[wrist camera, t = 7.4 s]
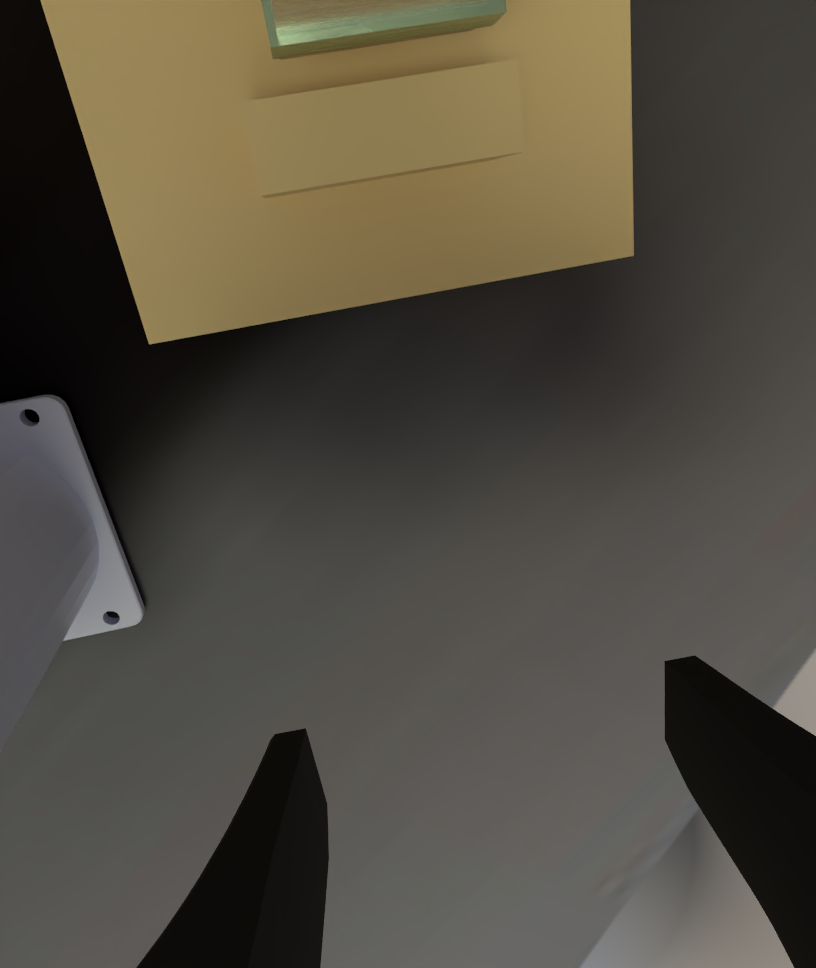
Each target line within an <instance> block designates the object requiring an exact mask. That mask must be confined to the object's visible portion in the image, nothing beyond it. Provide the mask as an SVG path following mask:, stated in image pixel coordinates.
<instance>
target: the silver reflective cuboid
mask: <svg viewBox="0 0 816 968" xmlns="http://www.w3.org/2000/svg"><path fill="white" fill-rule="evenodd" d="M261 4H262V9H263V13H264V18H265V23H266V28H267V33H268V38H269V43H270V48H271V53H272V58H273V59H278V58H280V60H283V59H290V58H296V57H303V56H309V55H316V54H323V53H329V52H336V51H342V50H349V49H356V48H362V47H369V46H375V45H382V44H388V43H395V42H402V41H408V40H415V39H421V38H428V37H434V36H441V35H448V34H454V33H461V32H467V31H472V30H473V29H476V28H482V27H489V26H492V25H494V24H495V23H496V22H497V21H498V20H499V19H500V18H501V17H502V16H503V15H504V14H505V13H506V12H507V9H506V0H261Z"/></svg>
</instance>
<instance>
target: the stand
mask: <svg viewBox="0 0 816 968" xmlns="http://www.w3.org/2000/svg"><path fill="white" fill-rule="evenodd" d="M41 4H42V7H43V10H44V13H45V16H46V19H47V23H48V26H49V29H50V32H51V35H52V38H53V42H54V45H55V48H56V51H57V54H58V57H59V61H60V64H61V67H62V70H63V73H64V76H65V80H66V83H67V86H68V89H69V92H70V95H71V99H72V102H73V105H74V108H75V111H76V114H77V118H78V121H79V124H80V127H81V130H82V133H83V137H84V140H85V143H86V146H87V149H88V152H89V156H90V159H91V162H92V165H93V168H94V171H95V175H96V178H97V181H98V184H99V187H100V190H101V194H102V197H103V200H104V203H105V206H106V209H107V213H108V216H109V219H110V222H111V225H112V228H113V232H114V235H115V238H116V241H117V244H118V247H119V251H120V254H121V257H122V260H123V263H124V266H125V270H126V273H127V276H128V279H129V282H130V285H131V289H132V292H133V295H134V298H135V301H136V304H137V308H138V311H139V314H140V317H141V320H142V323H143V327H144V330H145V333H146V336H147V339H148V342H149V344H154V343H160V342H165V341H171V340H176V339H182V338H187V337H193V336H198V335H204V334H209V333H215V332H220V331H225V330H231V329H236V328H242V327H247V326H253V325H258V324H264V323H269V322H275V321H280V320H286V319H291V318H296V317H302V316H307V315H313V314H318V313H324V312H329V311H335V310H340V309H346V308H351V307H357V306H362V305H368V304H373V303H378V302H384V301H389V300H395V299H400V298H406V297H411V296H417V295H422V294H428V293H433V292H439V291H444V290H450V289H455V288H460V287H466V286H471V285H477V284H482V283H488V282H493V281H499V280H504V279H510V278H515V277H521V276H526V275H532V274H537V273H542V272H548V271H553V270H559V269H564V268H570V267H575V266H581V265H586V264H592V263H597V262H603V261H608V260H614V259H619V258H624V257H630V256H634V228H633V161H632V95H631V28H630V0H506V9H507V12H506V13H505V14H504V15H503V16H502V17H501V18H500V19H499V20H498V21H497V22H496V23H495V24H494V25H492V26H489V27H482V28H476V29H473V30H472V31H467V32H461V33H454V34H448V35H441V36H434V37H428V38H421V39H415V40H408V41H402V42H395V43H388V44H382V45H375V46H369V47H362V48H356V49H349V50H342V51H336V52H329V53H323V54H316V55H309V56H303V57H296V58H290V59H283V60H280V58H278V59H273V58H272V53H271V48H270V43H269V38H268V33H267V28H266V23H265V18H264V13H263V9H262V4H261V0H41Z"/></svg>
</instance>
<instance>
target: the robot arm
mask: <svg viewBox="0 0 816 968" xmlns="http://www.w3.org/2000/svg"><path fill="white" fill-rule="evenodd" d="M26 409H32V410H34V411H35V412H37V414H38V415H39V420H40V421H39V422H38V423H36V422H31V421H30V420H28V419H27V417H26V416H25V410H26ZM108 611H113V612H116V613H117V614H118V615H119V616H120V617H118V618H112V617H110V616H108V615H107V613H106V612H108ZM144 611H145V609H144V604H143V602H142V599H141V596H140V594H139V591H138V588H137V586H136V583H135V581H134V578H133V575H132V573H131V570H130V567H129V565H128V562H127V559H126V557H125V554H124V552H123V549H122V546H121V544H120V541H119V538H118V536H117V533H116V531H115V528H114V525H113V523H112V520H111V517H110V515H109V512H108V510H107V507H106V504H105V502H104V499H103V496H102V494H101V491H100V488H99V486H98V483H97V481H96V478H95V475H94V473H93V470H92V467H91V465H90V462H89V460H88V457H87V454H86V452H85V449H84V446H83V444H82V441H81V439H80V436H79V433H78V431H77V428H76V425H75V423H74V420H73V417H72V415H71V412H70V410H69V407H68V406H67V404H66V402H65V401H63V400H62V399H61V398H60V397H57V396H54V395H41V396H36V397H30V398H25V399H20V400H14V401H9V402H4V403H0V754H1V752H2V751H3V749H4V747H5V745H6V743H7V742H8V740H9V738H10V736H11V734H12V733H13V731H14V729H15V727H16V725H17V723H18V722H19V720H20V718H21V716H22V714H23V713H24V711H25V709H26V707H27V705H28V703H29V702H30V700H31V698H32V696H33V694H34V693H35V691H36V689H37V687H38V685H39V683H40V682H41V680H42V678H43V676H44V674H45V673H46V671H47V669H48V667H49V665H50V664H51V662H52V660H53V658H54V656H55V654H56V653H57V651H58V649H59V647H60V645H61V644H62V642H63V641H66V640H70V639H75V638H79V637H84V636H89V635H93V634H98V633H103V632H107V631H112V630H117V629H121V628H126V627H130V626H134V625H136V624H138V623H139V622H140V621H141V619H142V617H143V614H144ZM665 741H666V743H667V745H668V747H669V750H670V752H671V754H672V756H673V758H674V760H675V763H676V765H677V767H678V769H679V771H680V773H681V775H682V777H683V779H684V781H685V783H686V785H687V787H688V789H689V791H690V793H691V794H692V796H693V797H694V799H695V801H696V802H697V804H698V806H699V807H700V809H701V810H702V812H703V814H704V815H705V817H706V818H707V820H708V822H709V823H710V825H711V826H712V828H713V830H714V831H715V833H716V834H717V836H718V838H719V839H720V840H721V842H722V844H723V846H724V847H725V848H726V850H727V852H728V853H729V855H730V856H731V858H732V860H733V861H734V863H735V865H736V866H737V868H738V869H739V871H740V873H741V874H742V875H743V877H744V879H745V880H746V882H747V884H748V885H749V887H750V888H751V890H752V892H753V893H754V895H755V896H756V898H757V899H758V901H759V903H760V905H761V906H762V908H763V910H764V911H765V913H766V915H767V916H768V918H769V920H770V922H771V924H772V925H773V927H774V929H775V931H776V933H777V935H778V937H779V938H780V941H781V942H782V944H783V946H784V948H785V950H786V952H787V954H788V956H789V958H790V960H791V962H792V964H793V966H794V968H816V736H814V735H813V734H811V733H810V732H808V731H806V730H805V729H803V728H802V727H800V726H798V725H797V724H795V723H794V722H792V721H791V720H789V719H787V718H786V717H784V716H783V715H781V714H780V713H778V712H777V711H775V710H774V709H772V708H771V707H769V706H768V705H766V704H765V703H763V702H762V701H760V700H759V699H757V698H756V697H754V696H753V695H751V694H750V693H748V692H747V691H745V690H744V689H743V688H741V687H740V686H738V685H737V684H735V683H734V682H732V681H731V680H729V679H728V678H727V677H725V676H724V675H722V674H721V673H719V672H718V671H717V670H715V669H714V668H712V667H711V666H709V665H708V664H706V663H705V662H704V661H702V660H701V659H699V658H698V657H696V656H690V657H685V658H680V659H674V660H669V661H665ZM328 860H329V852H328V816H327V802H326V798H325V795H324V791H323V788H322V784H321V781H320V777H319V774H318V770H317V767H316V763H315V760H314V756H313V753H312V749H311V746H310V742H309V738H308V735H307V731H306V729H301V730H295V731H290V732H285V733H279V734H275V735H274V736H273V738H272V739H271V740H270V743H269V745H268V747H267V750H266V752H265V754H264V756H263V759H262V761H261V763H260V765H259V767H258V770H257V772H256V774H255V776H254V778H253V780H252V782H251V784H250V786H249V788H248V790H247V792H246V794H245V796H244V798H243V800H242V802H241V804H240V806H239V808H238V810H237V812H236V814H235V816H234V817H233V819H232V821H231V823H230V825H229V827H228V829H227V831H226V833H225V834H224V836H223V838H222V840H221V841H220V843H219V845H218V847H217V848H216V850H215V852H214V853H213V855H212V857H211V858H210V860H209V862H208V864H207V865H206V867H205V869H204V870H203V872H202V874H201V876H200V877H199V879H198V880H197V882H196V884H195V885H194V887H193V888H192V890H191V891H190V893H189V895H188V896H187V898H186V899H185V901H184V902H183V904H182V905H181V907H180V908H179V910H178V911H177V913H176V914H175V915H174V917H173V918H172V920H171V921H170V923H169V924H168V926H167V927H166V929H165V930H164V931H163V933H162V934H161V936H160V937H159V938H158V940H157V941H156V942H155V944H154V945H153V946H152V948H151V949H150V950H149V952H148V953H147V954H146V956H145V957H144V958H143V960H142V961H141V962H140V964H139V965H138V966H137V968H320V964H321V951H322V938H323V926H324V913H325V901H326V888H327V874H328Z"/></svg>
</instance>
